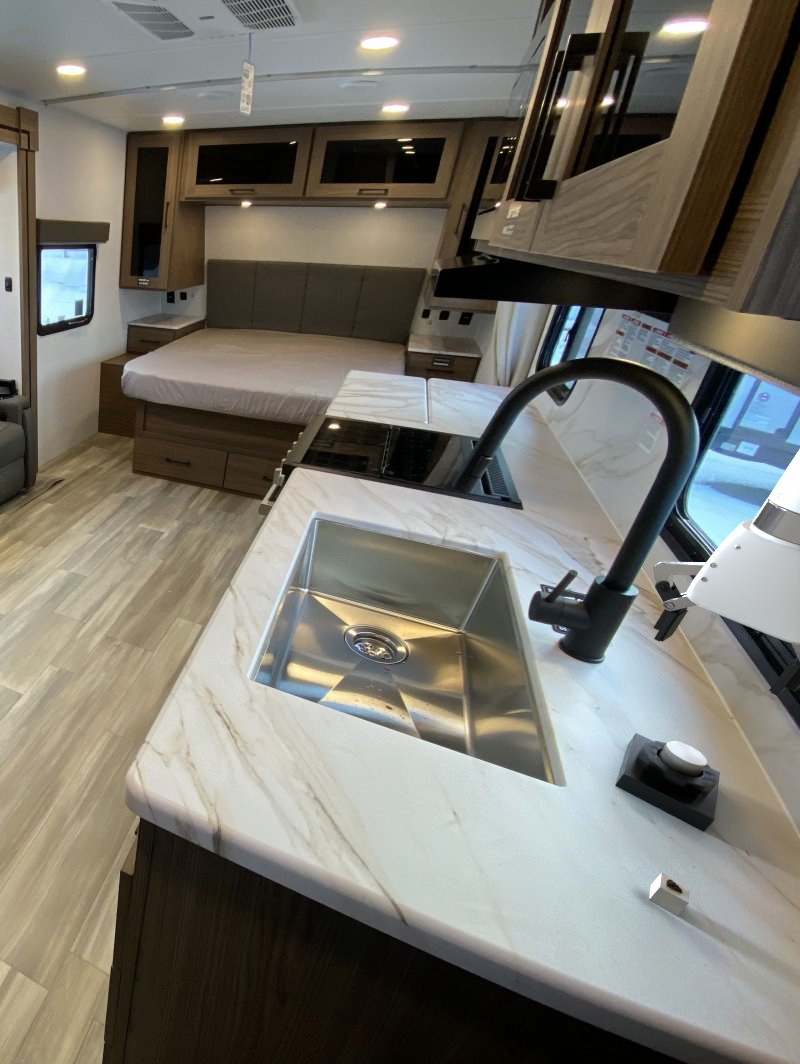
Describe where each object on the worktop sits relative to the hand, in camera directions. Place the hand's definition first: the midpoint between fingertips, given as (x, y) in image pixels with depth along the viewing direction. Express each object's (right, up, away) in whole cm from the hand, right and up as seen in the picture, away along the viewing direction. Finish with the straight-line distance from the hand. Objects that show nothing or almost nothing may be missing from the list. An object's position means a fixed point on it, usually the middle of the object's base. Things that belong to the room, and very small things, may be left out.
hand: (716, 662), depth 64 cm
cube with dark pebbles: (-12, -23, -6) cm, 27 cm away
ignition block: (0, -17, +6) cm, 18 cm away
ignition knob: (+1, -14, +5) cm, 14 cm away
